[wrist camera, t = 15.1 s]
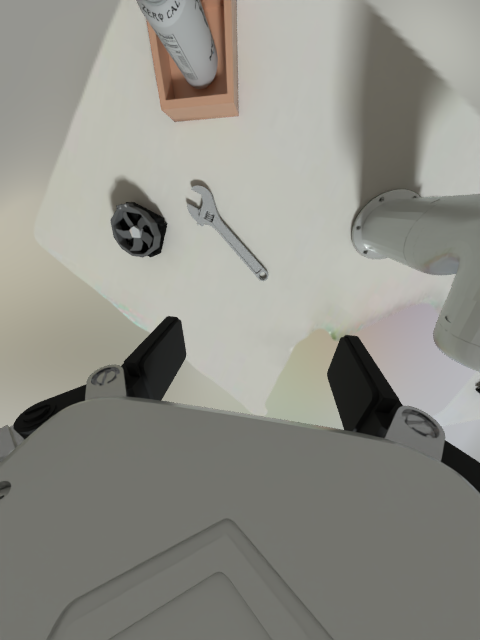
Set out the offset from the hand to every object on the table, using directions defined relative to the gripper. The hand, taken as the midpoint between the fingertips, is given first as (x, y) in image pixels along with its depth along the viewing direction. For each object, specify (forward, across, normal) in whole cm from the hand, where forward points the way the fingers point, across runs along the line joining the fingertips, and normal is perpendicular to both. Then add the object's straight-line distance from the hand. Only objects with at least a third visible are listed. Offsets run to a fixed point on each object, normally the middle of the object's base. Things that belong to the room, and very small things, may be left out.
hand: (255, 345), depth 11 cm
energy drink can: (+37, +14, -26) cm, 47 cm away
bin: (+38, +14, -26) cm, 48 cm away
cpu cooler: (+38, +30, -1) cm, 48 cm away
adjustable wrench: (+38, +9, 0) cm, 39 cm away
